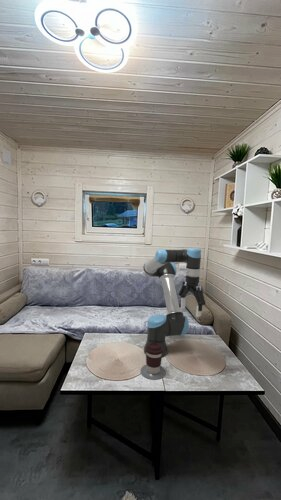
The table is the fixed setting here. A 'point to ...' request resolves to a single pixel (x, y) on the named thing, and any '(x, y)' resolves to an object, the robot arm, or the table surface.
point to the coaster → (153, 376)
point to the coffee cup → (153, 357)
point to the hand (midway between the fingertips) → (190, 312)
